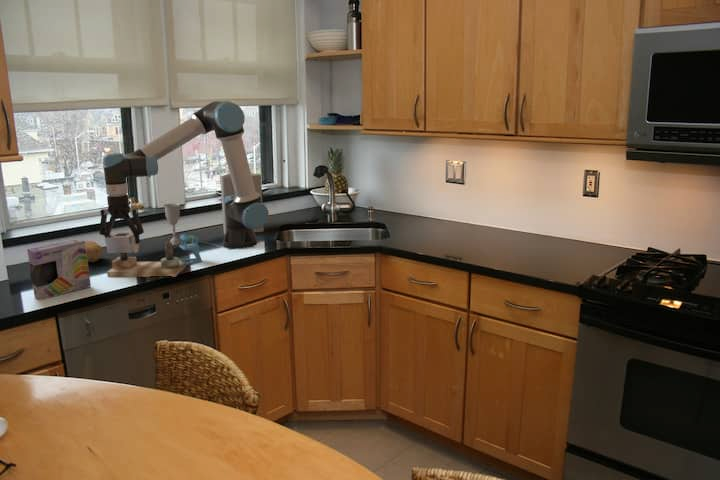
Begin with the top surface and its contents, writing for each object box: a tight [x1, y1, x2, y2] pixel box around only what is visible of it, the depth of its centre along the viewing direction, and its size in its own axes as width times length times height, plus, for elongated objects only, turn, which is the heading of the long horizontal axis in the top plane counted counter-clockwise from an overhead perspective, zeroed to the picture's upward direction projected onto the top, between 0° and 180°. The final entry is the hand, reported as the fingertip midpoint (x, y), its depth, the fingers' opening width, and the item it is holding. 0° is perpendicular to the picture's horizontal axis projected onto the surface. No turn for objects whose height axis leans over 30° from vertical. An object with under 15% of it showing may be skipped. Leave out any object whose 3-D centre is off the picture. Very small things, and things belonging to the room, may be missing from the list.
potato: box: [85, 240, 104, 263], centre depth 258 cm, size 10×14×8 cm
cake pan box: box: [27, 238, 92, 301], centre depth 217 cm, size 19×5×18 cm, turn 138°
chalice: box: [163, 202, 181, 246], centre depth 286 cm, size 7×7×18 cm
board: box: [106, 241, 187, 278], centre depth 242 cm, size 26×14×12 cm, turn 88°
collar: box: [105, 231, 140, 254], centre depth 241 cm, size 9×9×6 cm
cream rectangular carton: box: [220, 172, 265, 235], centre depth 310 cm, size 19×15×28 cm
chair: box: [178, 233, 203, 266], centre depth 255 cm, size 8×8×12 cm
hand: (123, 252), depth 242 cm, fingers closed on collar, 9 cm apart
